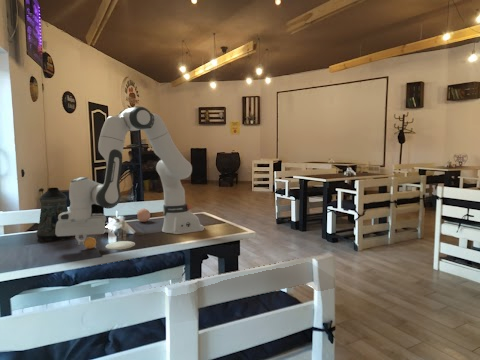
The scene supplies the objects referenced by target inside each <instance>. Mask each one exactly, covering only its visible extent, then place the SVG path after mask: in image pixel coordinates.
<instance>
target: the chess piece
mask: <svg viewBox="0 0 480 360" xmlns="http://www.w3.org/2000/svg"><path fill="white" fill-rule="evenodd" d="M104 210H105V208H103V207H102V206H100V205H97V204H92V205H91V213H92V214H94V213H96V214H99V213H102V214H104V215H105V211H104ZM104 215H102V216H104ZM107 224H108V223H107V220H106V221H105V226H106V225H107ZM107 226H108V225H107Z"/></svg>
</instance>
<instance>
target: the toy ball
mask: <svg viewBox="0 0 480 360" xmlns="http://www.w3.org/2000/svg"><path fill="white" fill-rule="evenodd" d="M136 215H137V220H138V222H142V223H146V222H148V221H149V220H150V218H151V212H150V211H149V210H148V209H146V208H141V209H139V210H138V211H137V214H136Z"/></svg>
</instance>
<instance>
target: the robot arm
mask: <svg viewBox="0 0 480 360" xmlns="http://www.w3.org/2000/svg"><path fill="white" fill-rule="evenodd" d="M140 130H142V131H143V133H145V136H146V138H147V140H148V142H149V144H150V146H151V148H152V150H153V153H154V154H155V156H157V157H158V158H159V159H160V160H158V162H157V163H156V166H155V171H156V172H157V173H158V175H159V177H160V181H161V186H162V190H163V203H164V204H163V207H162V208H163V209H162V211H163V215H164V216H163V224H162V228H161V231H162V232H163V233H166V234H173V235H181V234H189V233H196V232H202V231H205V226H204V225H202V224H201V222H200V219H199V217H198V216H197V215H196V214H194V213H193V212H191V211H190V209H191V205H189V204H187V203H186V191H185V188H184V186H183V185H182V184H183V183H182V182H181V180H184V179H187V178H189V177H190V176H191V175H192V173H193V165H192V164H191V162H190V161H189V160H187V159H186V158H185V156H183V154H182V153H181V151H180V150H179V149H178V147H177V146H176V145H175V142H174V141H173V139H172V136H171V134H170V132H169V130H168V128H167V125H166V123H165V122H164V120H163V119H162V117H161V116H160V115H159V114H157V113H152V112H151V111H150V110H149V109H148V108H146V107H144V106H133V107H128V108H126V109H124V110H123V109H122V111H120V112H119V113H118V114H117V115H109V116H108V117H106V119H105V121H104V123H103V125H102V128H101V131H100V135H99V139H98V144H97V145H98V146H97V148H98V153H99V154H100V156H102V158H103V159H104V160H105V163H106V169H105V176H104V182H103V183H99V182H97V181H95V180H92V179H91V178H89V177H87V176H82V177H76V178H74V179H72V180H70V183H69V188H68V199H69V203H70V205H69V209H68V211H66V212H63V213H61V214H59V215H58V219H59V220H58V222H57V223H56V229H55V234H56V235H57V236H72V237H73V236H75V239H76V241H77V242H78V243H77V245H78V246H85V245H84V241H85V240H86V239H87V238H88V236H90V235H104V234H105V233H106V229H105V224H106V223H105V221H106V222H107V217H106V215H105V213H104V214H102V213H99V214H96V213H94V214H92V213H91V205H92V204H97V205H100V206H102V207H103V208H104V209H113V208H114V207H116V206H117V205H119V203H120V200H121V198H122V197H121V196H122V195H121V190H120V184H121V176H122V175H121V174H122V166H123V152H124V151H123V150H124V146H125V141H126V135H127V134H128V132H134V131H135V132H136V131H140ZM102 215H104V216H102ZM80 236H82V238H83V239H82V240H81V239H80Z"/></svg>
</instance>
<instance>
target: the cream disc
mask: <svg viewBox="0 0 480 360" xmlns="http://www.w3.org/2000/svg"><path fill="white" fill-rule="evenodd" d="M134 246H136V243H135V242H134V241H130V240H122V241H121V240H119V241H114V242H110V243H107V244H106V245H105V249H108V250H112V251H113V250H114V251H116V250H119V251H120V250H126V249H130V248H132V247H134Z"/></svg>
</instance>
